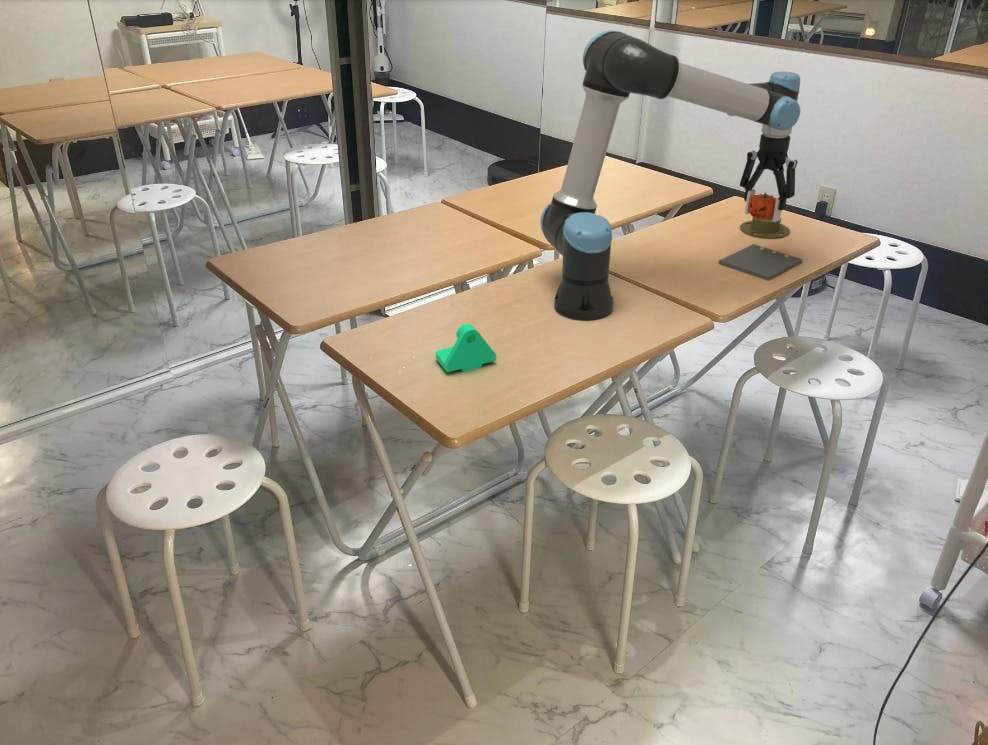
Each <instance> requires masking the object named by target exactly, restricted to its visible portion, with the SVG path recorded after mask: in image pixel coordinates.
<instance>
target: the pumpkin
mask: <svg viewBox="0 0 988 745" xmlns="http://www.w3.org/2000/svg"><path fill="white" fill-rule="evenodd" d="M776 199H777V198H776V197H774V195H770V194H767V193H766V192H764V194H762V193H760V194H755V196H754V197H753V198H752V199H751V200H750V202H749V205H748V210H749V214H750V216H752V218H753V217H754V218H756V219H759V220H761V219H763V220H766V219H771V218H772V217H773V215H774V209H775V204H776Z"/></svg>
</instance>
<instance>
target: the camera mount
mask: <svg viewBox="0 0 988 745" xmlns="http://www.w3.org/2000/svg"><path fill="white" fill-rule="evenodd" d="M455 334H456V338H457V339H456V340H455V343H454V344H453V346H451V347H445V348H441V349H437V350H436V351H435V359H436V360H437V362H438V363H439V364H440V365H441V367H442V368H443V369H444V370H445V371H446V373H449V372H450V373H451V372H454V371H457V370H460V371H461V372H462V373H465V372H468V371H473V370H477V369H482V367H483V366H482V365H484V364H488V363H493V362H495V361H497V353H495V351H494V350H493V349H492V348H491V346H490V345H489V343H488V342H487V341H486V340H485V338H483V336H482V334H481V333H480V332H479V331H478V330H477V329H476V327H474V326H473V325H472V324H471V323H463V324H461V325H460V326H459V327H458V328H457V330H456V332H455Z"/></svg>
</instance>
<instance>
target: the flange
mask: <svg viewBox="0 0 988 745" xmlns="http://www.w3.org/2000/svg"><path fill="white" fill-rule="evenodd" d="M772 221H773V217H772V218H771V219H766V220H763V219H761V220H759V219H756V218H754V217H753V216H752V219H751V220H748V221H744V222H743V223H741V224H740V225H739V230H740V231H741V232H742V233H743V234H745V235H747V236H749V237H753V238H756V239H762V240H763V239H764V240H778V239H783V238H786V237H789V235H790V233H791V229H790V228H789V227H788V226H786V225H784V224H782V223H781V222H782V217H781V216H780V220H778V221H776V222H772Z"/></svg>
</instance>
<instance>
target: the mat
mask: <svg viewBox="0 0 988 745" xmlns="http://www.w3.org/2000/svg"><path fill="white" fill-rule="evenodd" d="M803 260H804V259H803V258H799V257H796V256H793V255H791V254H790V255H789V254H787V253H784V252H781V251H777V250H773V249H771V248H768V247H764V246H762V245H757V244H754V243H752V244H750V245H749V246H748V245H747V246H745V247H744V248H742V249H741V250H738V251H736V252H734V253H732V254H729V255H728V256H726V257H723V258H721V259H719V260H718V264H719V265H722V266H725V267H728V268H730V269H733V270H736V271H739V272H742V273H745V274H748V275H751V276H754V277H756V278H759V279H763V280H766V281H771V280H772V279H774V278H776V277H778V276H781V274H783V273H786V272H787V271H789V270H791V269H793V268H795V267H797V266H798V265H800V264H802V263H803Z"/></svg>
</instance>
